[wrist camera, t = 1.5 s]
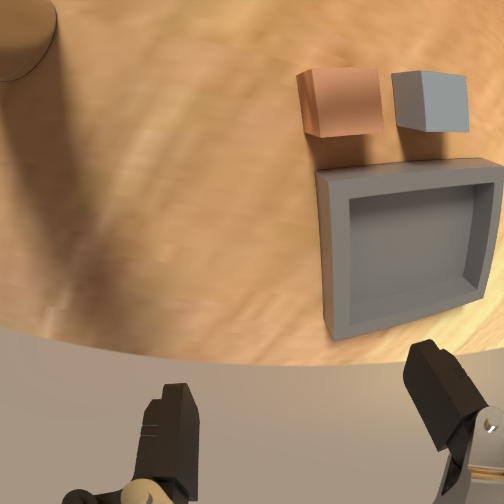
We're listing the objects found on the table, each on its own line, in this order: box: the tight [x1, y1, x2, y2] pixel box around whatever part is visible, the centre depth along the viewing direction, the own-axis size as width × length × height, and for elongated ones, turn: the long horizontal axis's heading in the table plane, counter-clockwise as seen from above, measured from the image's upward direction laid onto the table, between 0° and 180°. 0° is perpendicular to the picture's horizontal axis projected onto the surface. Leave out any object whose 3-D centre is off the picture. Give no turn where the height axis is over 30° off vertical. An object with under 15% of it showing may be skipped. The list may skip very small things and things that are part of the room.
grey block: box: [392, 71, 469, 132], centre depth 22 cm, size 5×5×5 cm
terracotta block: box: [296, 67, 384, 138], centre depth 22 cm, size 5×5×5 cm
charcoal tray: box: [315, 158, 504, 341], centre depth 28 cm, size 16×20×4 cm
